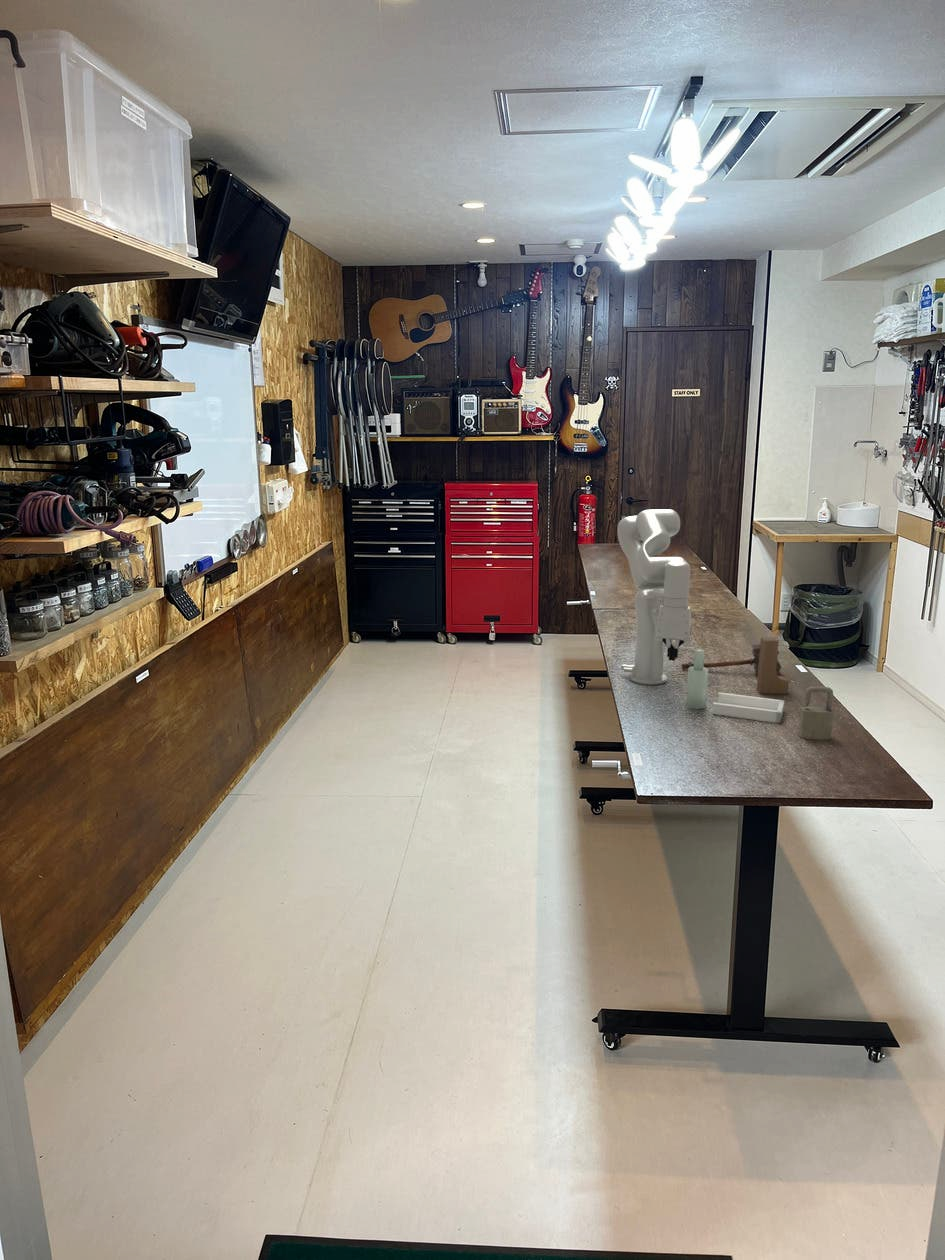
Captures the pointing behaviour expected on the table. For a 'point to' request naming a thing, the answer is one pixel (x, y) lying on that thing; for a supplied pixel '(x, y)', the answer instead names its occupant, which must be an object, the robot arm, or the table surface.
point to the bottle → (697, 682)
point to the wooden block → (770, 669)
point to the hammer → (738, 662)
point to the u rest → (749, 707)
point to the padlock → (816, 716)
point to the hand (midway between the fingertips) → (672, 659)
